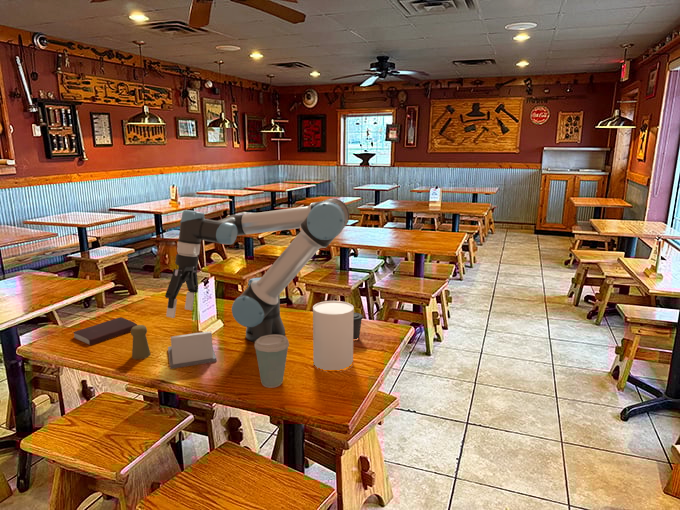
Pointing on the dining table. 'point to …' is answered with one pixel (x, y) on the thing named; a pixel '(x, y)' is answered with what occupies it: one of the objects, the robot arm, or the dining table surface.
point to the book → (104, 330)
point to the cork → (140, 342)
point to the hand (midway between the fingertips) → (179, 313)
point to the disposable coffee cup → (271, 359)
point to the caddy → (191, 350)
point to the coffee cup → (357, 325)
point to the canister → (333, 335)
